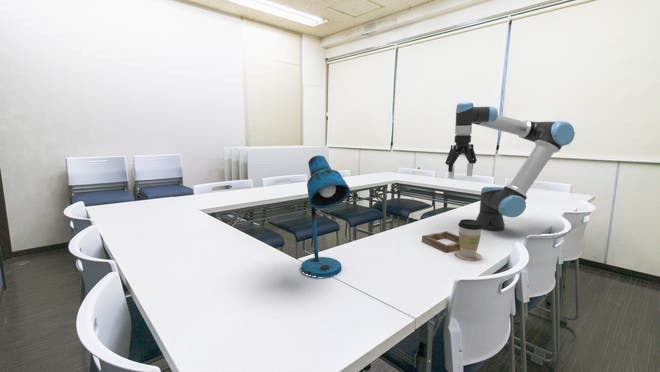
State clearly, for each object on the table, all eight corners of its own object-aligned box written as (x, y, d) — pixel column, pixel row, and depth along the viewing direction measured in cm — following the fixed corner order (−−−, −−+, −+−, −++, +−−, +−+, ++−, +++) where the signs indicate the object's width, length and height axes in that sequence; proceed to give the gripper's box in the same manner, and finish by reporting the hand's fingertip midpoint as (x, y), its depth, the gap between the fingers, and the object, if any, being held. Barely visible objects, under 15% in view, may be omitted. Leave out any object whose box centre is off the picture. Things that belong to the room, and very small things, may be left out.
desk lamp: (315, 287, 113) (315, 159, 105) (294, 264, 132) (292, 154, 124) (355, 278, 119) (357, 158, 111) (329, 257, 139) (330, 153, 131)
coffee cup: (482, 260, 136) (485, 226, 133) (458, 258, 138) (460, 224, 135) (477, 251, 145) (480, 219, 143) (454, 249, 147) (456, 218, 145)
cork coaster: (466, 249, 149) (466, 248, 149) (487, 257, 139) (487, 257, 139) (449, 253, 144) (449, 252, 144) (469, 262, 134) (469, 261, 134)
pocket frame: (445, 236, 166) (446, 231, 165) (471, 247, 152) (471, 241, 151) (421, 241, 159) (422, 235, 158) (446, 252, 145) (446, 246, 144)
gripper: (473, 134, 168) (470, 174, 172) (439, 135, 156) (437, 178, 160) (486, 134, 162) (483, 175, 165) (451, 135, 150) (449, 180, 154)
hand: (460, 177), depth 163 cm, fingers open, 13 cm apart
